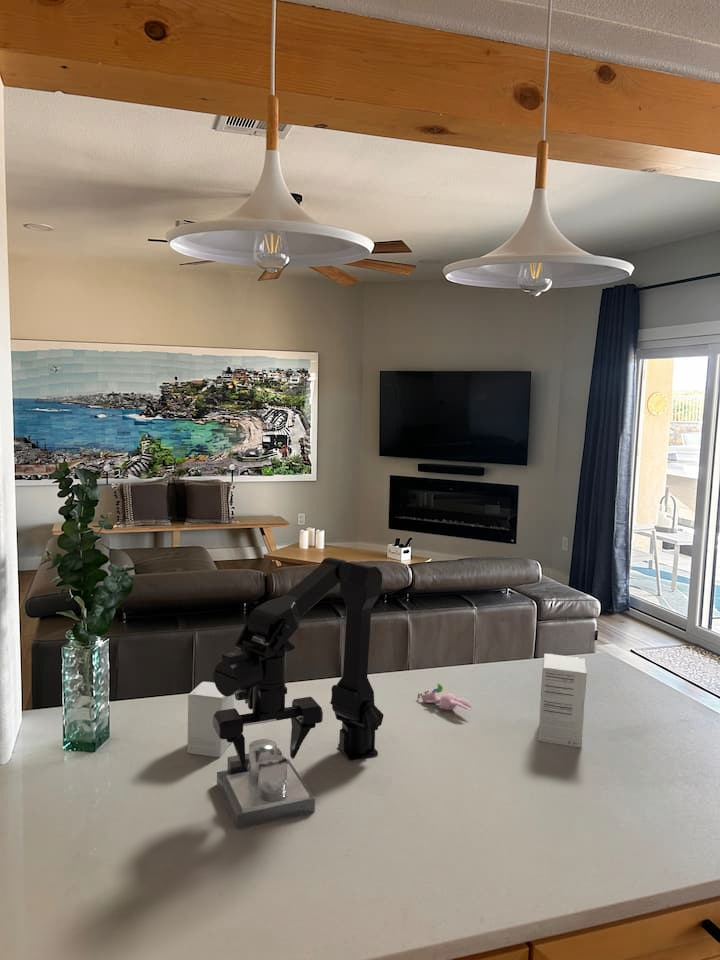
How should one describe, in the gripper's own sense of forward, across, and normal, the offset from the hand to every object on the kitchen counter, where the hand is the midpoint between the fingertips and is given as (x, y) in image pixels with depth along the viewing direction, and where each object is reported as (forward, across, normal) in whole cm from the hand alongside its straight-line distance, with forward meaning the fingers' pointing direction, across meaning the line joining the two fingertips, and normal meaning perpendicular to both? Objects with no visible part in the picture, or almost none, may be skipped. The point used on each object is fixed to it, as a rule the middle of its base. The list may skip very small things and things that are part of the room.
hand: (267, 762), depth 128 cm
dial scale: (+8, 0, -2) cm, 8 cm away
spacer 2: (+4, 0, +3) cm, 5 cm away
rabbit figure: (+8, -51, -23) cm, 56 cm away
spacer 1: (+4, 0, -3) cm, 5 cm away
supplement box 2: (+8, -68, -2) cm, 68 cm away
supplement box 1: (+8, +5, -24) cm, 25 cm away
